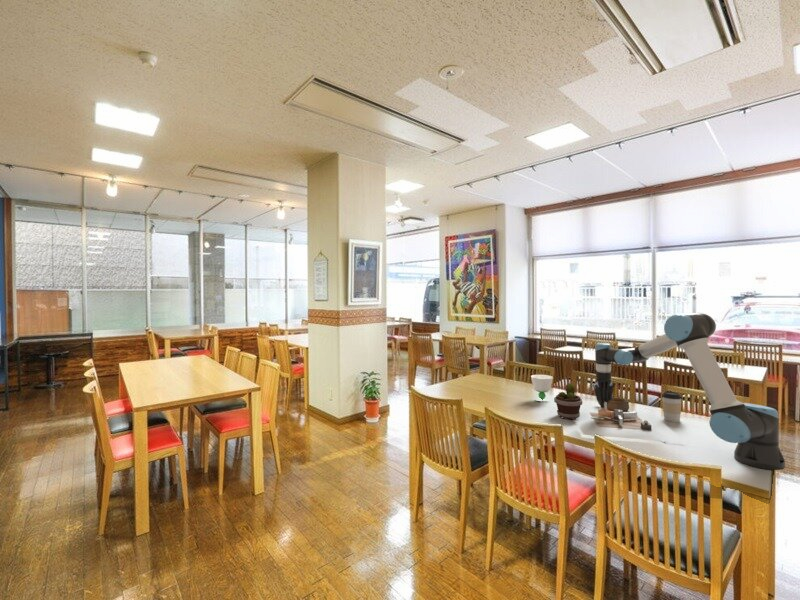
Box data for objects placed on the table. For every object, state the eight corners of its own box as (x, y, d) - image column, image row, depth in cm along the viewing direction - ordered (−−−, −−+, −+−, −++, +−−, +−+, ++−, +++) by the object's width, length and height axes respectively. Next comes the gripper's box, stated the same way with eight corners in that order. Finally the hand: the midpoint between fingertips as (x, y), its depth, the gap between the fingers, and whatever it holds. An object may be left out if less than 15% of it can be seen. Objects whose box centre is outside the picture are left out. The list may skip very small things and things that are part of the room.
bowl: (590, 408, 225) (592, 391, 227) (600, 410, 234) (601, 394, 236) (623, 414, 212) (624, 396, 214) (632, 416, 220) (633, 399, 222)
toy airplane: (652, 433, 188) (651, 421, 188) (596, 429, 195) (596, 418, 195) (637, 418, 211) (636, 407, 211) (587, 415, 218) (587, 405, 218)
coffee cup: (685, 422, 201) (685, 394, 201) (666, 422, 203) (666, 394, 203) (677, 417, 210) (676, 390, 210) (658, 416, 212) (658, 390, 212)
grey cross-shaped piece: (637, 419, 203) (637, 409, 203) (622, 427, 193) (622, 416, 192) (606, 412, 216) (606, 403, 216) (590, 419, 205) (590, 409, 205)
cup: (526, 398, 254) (526, 375, 254) (543, 396, 258) (543, 373, 258) (540, 404, 241) (539, 379, 241) (557, 402, 245) (557, 377, 245)
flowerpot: (575, 423, 205) (575, 386, 205) (549, 416, 217) (548, 381, 216) (587, 417, 214) (587, 382, 214) (561, 411, 226) (561, 377, 226)
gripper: (608, 369, 215) (609, 410, 215) (588, 370, 212) (589, 412, 213) (618, 371, 208) (619, 414, 208) (598, 373, 205) (599, 416, 205)
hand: (604, 413), depth 210 cm, fingers closed
